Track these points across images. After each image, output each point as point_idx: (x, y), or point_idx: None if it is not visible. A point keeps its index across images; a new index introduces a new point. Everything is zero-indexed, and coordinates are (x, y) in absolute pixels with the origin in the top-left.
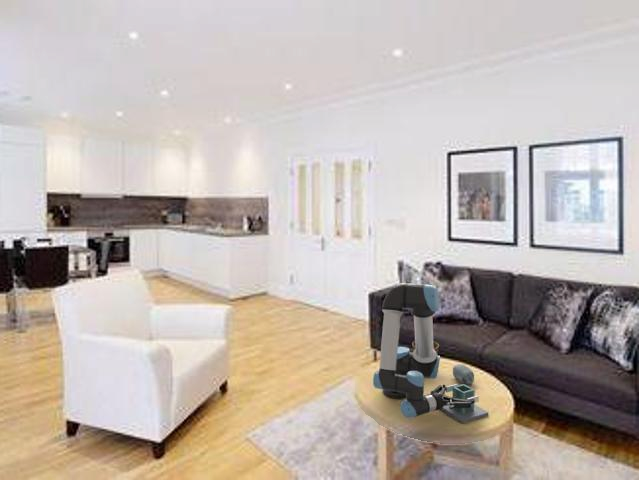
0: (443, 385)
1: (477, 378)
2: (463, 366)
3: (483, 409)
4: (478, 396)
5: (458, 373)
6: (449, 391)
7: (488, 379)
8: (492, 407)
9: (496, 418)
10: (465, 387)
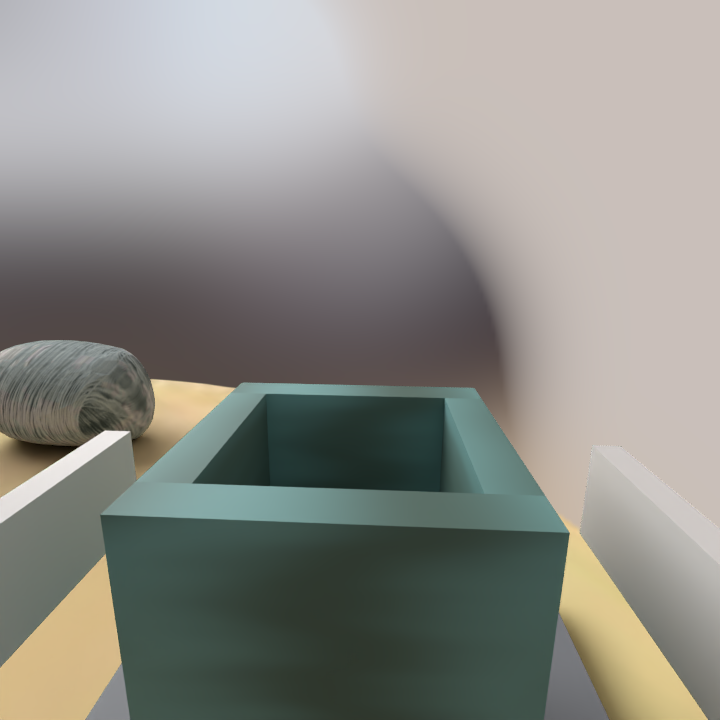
0: None
1: None
2: (60, 341)
3: None
4: (623, 452)
5: (36, 391)
6: (4, 654)
7: (200, 389)
8: None
9: (607, 589)
10: (306, 416)
